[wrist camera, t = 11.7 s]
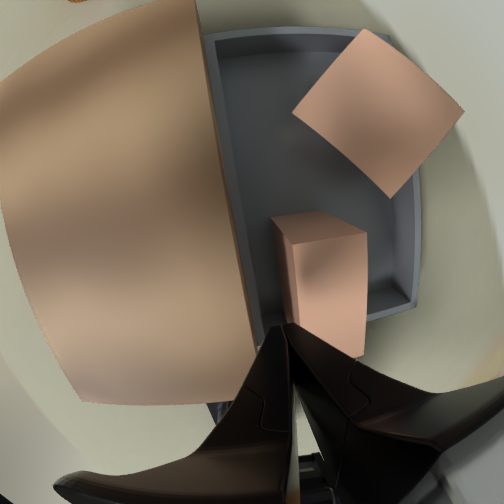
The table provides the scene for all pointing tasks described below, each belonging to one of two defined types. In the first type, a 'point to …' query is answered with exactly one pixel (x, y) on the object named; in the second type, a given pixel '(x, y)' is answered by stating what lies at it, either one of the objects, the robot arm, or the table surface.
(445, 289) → the table surface
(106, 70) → the brown wooden block
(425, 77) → the tile
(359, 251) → the tile
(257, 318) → the tray
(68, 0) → the disposable coffee cup
